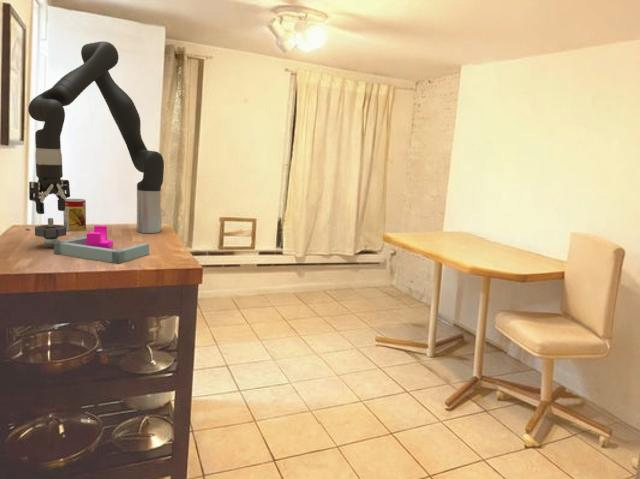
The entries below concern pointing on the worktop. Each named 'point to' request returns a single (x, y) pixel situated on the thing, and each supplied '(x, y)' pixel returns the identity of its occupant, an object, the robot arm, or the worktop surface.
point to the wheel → (50, 231)
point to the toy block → (99, 238)
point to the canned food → (75, 214)
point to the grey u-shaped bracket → (99, 251)
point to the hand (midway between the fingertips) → (51, 212)
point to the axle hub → (50, 240)
